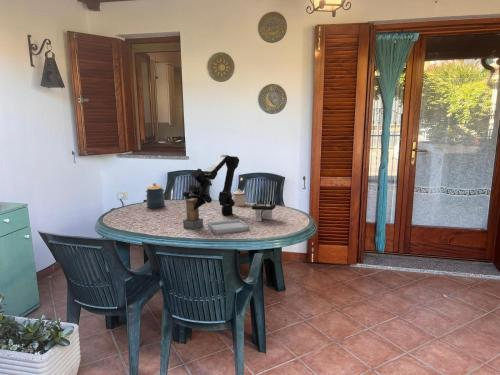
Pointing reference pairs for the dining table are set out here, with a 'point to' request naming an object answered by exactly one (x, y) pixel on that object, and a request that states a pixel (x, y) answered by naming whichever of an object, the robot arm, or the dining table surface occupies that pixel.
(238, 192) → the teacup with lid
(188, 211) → the walnut block
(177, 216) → the dining table surface
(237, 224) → the plastic tray
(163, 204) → the canister
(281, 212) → the dining table surface
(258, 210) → the black-topped pedestal
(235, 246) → the dining table surface
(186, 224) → the charcoal open-top box
